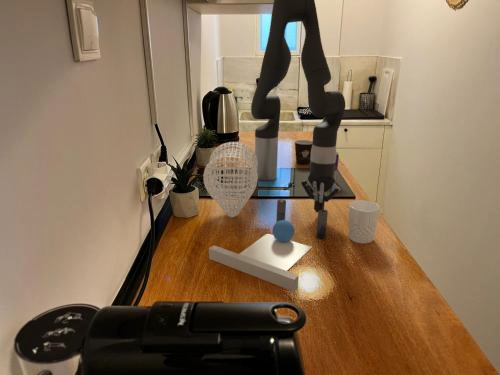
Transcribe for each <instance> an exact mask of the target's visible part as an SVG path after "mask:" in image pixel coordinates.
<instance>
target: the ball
mask: <svg viewBox="0 0 500 375" xmlns="http://www.w3.org/2000/svg"><path fill="white" fill-rule="evenodd" d="M271 231H272V235H273V236H274V237H275V238H276V239H277V240H278V241H280V242H287V241H289V240H290V241H291V240H292V239H293V237H294V235H295V227H294V225H293V223H292V222H290V221H288V220H286V219H285V220H280V221H278V222H276V221H275V223H274V225H273V227H272V230H271Z"/></svg>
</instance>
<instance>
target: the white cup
mask: <svg viewBox="0 0 500 375" xmlns="http://www.w3.org/2000/svg"><path fill="white" fill-rule="evenodd" d="M380 208H381V207H380V206H379V204H377V203H376V202H373V201H369V200H362V199H361V200H359V199H358V200H354V201H351V202H350V203H349V209H348V210H349V212H348V235H347V237H348V239H349V240H350V241H352V242H353V243H357V244H362V245H363V244H364V245H365V244H371V243H372V242H373V240H374V238H375V237H374V236H375V232H376V228H377V224H378V218H379V212H380Z"/></svg>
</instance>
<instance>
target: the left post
mask: <svg viewBox="0 0 500 375" xmlns="http://www.w3.org/2000/svg"><path fill="white" fill-rule="evenodd" d="M286 204H287V201H286V200H285V199H283V198H282V199H277V201H276V218H275V219H276V221H275V223H276V222H278V221H280V220H286V211H287V210H286V209H287V208H286V206H287V205H286Z"/></svg>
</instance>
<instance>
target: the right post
mask: <svg viewBox="0 0 500 375" xmlns="http://www.w3.org/2000/svg"><path fill="white" fill-rule="evenodd" d="M328 215H329V212H328V210H327V209H324V210H319V211H318V212H317V222H316V223H317V224H316V232H315V233H316V239H317V240H326V236H327V225H328Z"/></svg>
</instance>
